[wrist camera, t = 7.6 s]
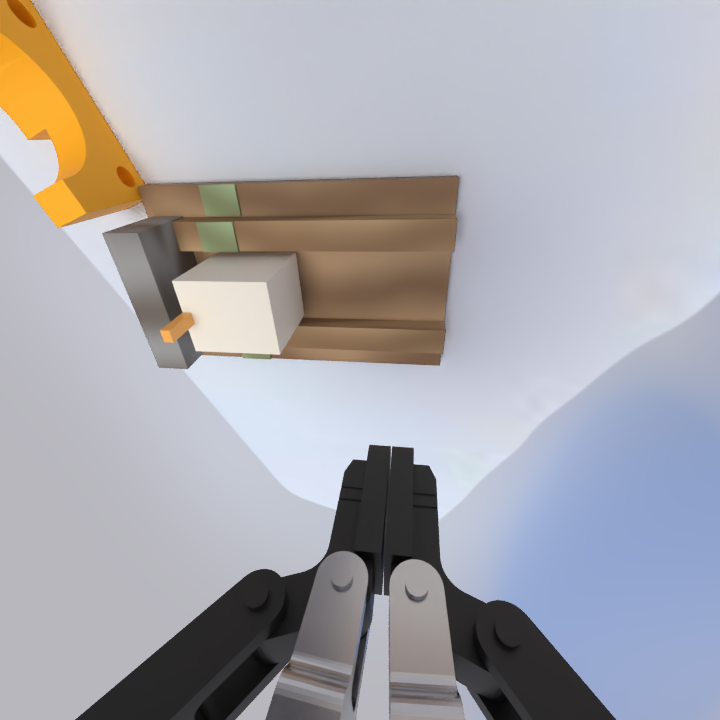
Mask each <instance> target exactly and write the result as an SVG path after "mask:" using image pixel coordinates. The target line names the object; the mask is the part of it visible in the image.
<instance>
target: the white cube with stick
mask: <svg viewBox="0 0 720 720" xmlns="http://www.w3.org/2000/svg"><path fill="white" fill-rule="evenodd" d="M172 283H173V286H174V289H175V292H176V295H177V298H178V301H179V304H180V307H181V309H182V312H183V313H181V314H180V315H179V316H177V317H176V318H175V319H174V320H172V321H171V322H170V323H169V324H167V325H166V326H165V327H163V328H162V329H161V330H160V332H161V335H162V337H163V340H164V342H170V343H174V342H175V341H176V340H177V339H178V338H180V337H181V336H182V335H183V334H184V333H185V332H186V331H188V330H189V333H190V336H191V339H192V341H193V344H194V347H195V350H196V351H204V352H227V353H250V354H274V355H280V354H281V352H282V351H283V349H284V348H285V346H286V344H287V343H288V341H289V339H290V338H291V336H292V334H293V333H294V331H295V329H296V328H297V326H298V324H299V323H300V321H301V320H302V318H303V316H304V309H303V301H302V294H301V287H300V279H299V272H298V265H297V257H296V252H217V253H216V254H214V255H213V256H211V257H209V258H208V259H206V260H205V261H203V262H201V263H200V264H198V265H197V266H195V267H193V268H192V269H190V270H188V271H187V272H185V273H184V274H182V275H180V276H179V277H177V278H176V279H174V280H172Z"/></svg>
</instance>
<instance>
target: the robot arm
mask: <svg viewBox="0 0 720 720" xmlns="http://www.w3.org/2000/svg"><path fill="white" fill-rule="evenodd" d="M413 461H414V448H407V447H394V446H392V457H391V446H379V445H370V446H369V450H368V457H367V461H364V460H353V461H352V462H351V463H350V465H349V466H348V468H347V469H346V470H345V472H344V477H343V482H342V488H341V491H340V496H339V501H338V506H337V511H336V515H335V521H334V525H333V530H332V535H331V540H330V544H329V548H328V550H327V553H326V555H325V556H324V558H323V559H322V560H321V561H320V562H319V563H318V564H317V565H316V566H315V567H313V568H312V569H309V570H307V571H305V572H301V573H297V574H293V575H289V576H285V577H280V576H279V575H278V574H277V573H276V572H274V571H272V570H268V569H260V570H256V571H253V572H251V573H250V574H248V575H247V576H245V577H244V578H243V579H242V580H241V581H239V582H238V583H237V584H236V585H234V586H233V587H232V588H231V589H230V590H229V591H227V592H226V593H225V594H224V595H223V596H221V597H220V598H219V599H218V600H217V601H216V602H214V603H213V604H212V605H211V606H210V607H208V608H207V609H206V610H205V611H204V612H202V613H201V614H200V615H199V616H198V617H196V618H195V619H194V620H193V621H192V622H191V623H189V624H188V625H187V626H186V627H185V628H183V629H182V630H181V631H180V632H179V633H178V634H176V635H175V636H174V637H173V638H172V639H171V640H169V641H168V642H167V643H166V644H164V645H163V646H162V647H161V648H160V649H159V650H157V651H156V652H155V653H154V654H153V655H151V656H150V657H149V658H148V659H147V660H146V661H144V662H143V663H142V664H141V665H140V666H138V667H137V668H136V669H135V670H134V671H132V672H131V673H130V674H129V675H128V676H127V677H125V678H124V679H123V680H122V681H121V682H120V683H118V684H117V685H116V686H115V687H114V688H112V689H111V690H110V691H109V692H108V693H106V694H105V695H104V696H103V697H102V698H100V699H99V700H98V701H97V702H96V703H95V704H93V705H92V706H91V707H90V708H89V709H88V710H86V711H85V712H84V713H83V714H81V715H80V716H79V717H78V718H77V719H76V720H235V719H236V718H237V717H238V716H239V715H240V714H241V713H242V712H243V711H244V710H245V708H246V707H247V706H248V705H249V704H250V703H251V702H252V701H253V700H254V699H255V698H256V696H257V695H259V693H260V692H261V691H262V690H263V689H264V688H265V687H266V686H267V685H268V684H269V683H270V682H271V680H272V679H273V678H274V677H275V676H276V675H277V674H278V673H279V672H280V671H281V670H282V669H283V668H284V666H285V665H286V664H287V663H288V662H289V661H290V662H289V663H288V665H287V666H286V667H285V668H284V670H283V671H282V673H281V675H280V677H279V680H278V682H277V685H276V688H275V691H274V694H273V697H272V701H271V704H270V707H269V710H268V713H267V717H266V720H356V714H357V707H358V700H359V693H360V688H361V681H362V675H363V669H364V662H365V655H366V650H367V644H368V637H369V630H370V625H371V622H372V615H373V604H374V594H379V595H381V594H382V584H383V572H384V595H389V720H465V715H464V709H463V704H462V700H461V698H460V695H459V693H458V689H457V685H456V680H457V681H458V682H460V683H462V684H463V685H465V686H466V687H467V689H468V690H469V692H470V694H471V695H472V697H473V698H474V700H475V701H476V703H477V705H478V706H479V708H480V709H481V711H482V713H483V714H484V715H485V717H486V719H487V720H616V719H615V718H614V717H613V716H612V714H611V713H610V712H609V711H608V710H607V709H606V707H605V706H604V705H603V704H602V703H601V701H600V700H599V699H598V698H597V697H596V696H595V694H594V693H593V692H592V691H591V690H590V689H589V687H588V686H587V685H586V684H585V683H584V682H583V681H582V679H581V678H580V677H579V676H578V675H577V673H576V672H575V671H574V670H573V669H572V668H571V667H570V665H569V664H568V663H567V662H566V660H565V659H564V658H563V657H562V656H561V655H560V653H559V652H558V651H557V650H556V649H555V648H554V647H553V645H552V644H551V643H550V642H549V641H548V639H547V638H546V637H545V636H544V635H543V634H542V632H541V631H540V630H539V629H538V628H537V627H536V625H535V624H534V623H533V622H532V621H531V620H530V618H529V617H528V616H527V615H526V614H525V613H524V612H523V611H522V610H521V609H519V608H518V607H517V606H515V605H513V604H511V603H509V602H505V601H500V600H496V601H491V602H488V603H487V604H486V603H484V602H483V601H480V600H478V599H476V598H474V597H472V596H470V595H468V594H466V593H464V592H463V591H461V590H459V589H458V588H457V587H455V586H454V585H453V584H452V583H451V581H450V580H449V579H448V578H447V576H446V575H445V573H444V571H443V568H442V565H441V561H440V547H439V527H438V510H437V488H436V478H435V476H434V474H433V473H432V471H431V469H430V467H429V466H427V465H415V464H413ZM390 466H391V470H390Z"/></svg>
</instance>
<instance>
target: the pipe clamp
mask: <svg viewBox="0 0 720 720" xmlns="http://www.w3.org/2000/svg"><path fill="white" fill-rule="evenodd" d="M0 107H1V108H2V109H3V110H4V111H5V112H6V113H7V114H8V115H9V116H10V117H11V118H12V120H13V121H14V122H15V123H16V124H17V125H18V127H19V128H20V129H21V131H22V132H23V133H24V135H25V136H26V138H27V139H28V140H45V139H51V140H52V142H53V144H54V147H55V149H56V152H57V157H58V162H59V172H58V177H57V180H56V182H55V183H54V184H53V185H51V186H49V187H48V188H46V189H44V190H43V191H41V192H39V193H38V194H36V195H34V196H33V197H34V198H35V199H36V200H37V202H38V203H39V204H40V205H41V207H42V208H43V209H44V210H45V212H46V213H47V215H48V216H49V217H50V218H51V220H52V221H53V222H54V223H55V225H56V226H57V227H58V228H60V227H64V226H68V225H71V224H75V223H78V222H82V221H86V220H89V219H93V218H96V217H100V216H104V215H107V214H111V213H114V212H118V211H122V210H125V209H128V208H130V207H132V206H134V205H136V204H138V203H140V202H142V198H141V195H140V192H139V189H138V187H137V186H142V185H145V183H144V182H143V180H142V179H141V177H140V175H139V174H138V172H137V171H136V169H135V167H134V166H133V164H132V162H131V161H130V159H129V158H128V156H127V154H126V153H125V151H124V150H123V148H122V146H121V145H120V143H119V142H118V140H117V138H116V137H115V135H114V134H113V132H112V130H111V129H110V127H109V125H108V124H107V122H106V121H105V119H104V117H103V116H102V114H101V113H100V111H99V109H98V108H97V106H96V105H95V103H94V101H93V100H92V98H91V97H90V95H89V93H88V92H87V90H86V89H85V87H84V85H83V84H82V82H81V80H80V79H79V77H78V76H77V74H76V72H75V71H74V69H73V68H72V66H71V64H70V63H69V61H68V60H67V58H66V56H65V55H64V53H63V52H62V50H61V48H60V47H59V45H58V44H57V42H56V40H55V39H54V37H53V35H52V34H51V32H50V31H49V29H48V27H47V26H46V24H45V23H44V21H43V19H42V18H41V16H40V15H39V13H38V11H37V10H36V8H35V7H34V5H33V3H32V2H31V0H0Z"/></svg>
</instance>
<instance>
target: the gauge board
mask: <svg viewBox="0 0 720 720" xmlns="http://www.w3.org/2000/svg"><path fill="white" fill-rule="evenodd" d="M458 184H459V177H458V176H432V177H395V178H358V179H320V180H283V181H245V182H208V183H171V184H146V185H142V186H137V187H138V189H139V192H140V195H141V198H142V201H143V204H144V207H145V210H146V213H147V215H148V218H147V219H144V220H141V221H138V222H135V223H132V224H129V225H126V226H123V227H120V228H117V229H114V230H111V231H108V232H105V233H102V234H103V236H104V239H105V241H106V244H107V246H108V248H109V251H110V253H111V255H112V258H113V260H114V262H115V265H116V267H117V270H118V272H119V274H120V277H121V279H122V281H123V284H124V286H125V288H126V291H127V293H128V296H129V298H130V300H131V303H132V305H133V307H134V310H135V312H136V314H137V317H138V319H139V321H140V324H141V326H142V328H143V331H144V333H145V336H146V338H147V340H148V343H149V345H150V347H151V350H152V352H153V354H154V357H155V359H156V362H157V364H158V366H159V367H160V368H179V369H188V368H189V367H190V366H191V365H192V364H193V363H194V362H195V361H196V360H197V359H198V358H199V357H200V356H201V355H214V356H236V357H243V358H254V359H271V358H282V359H304V360H327V361H349V362H372V363H395V364H417V365H440V358H441V354H443V350H444V340H445V331H446V330H445V323H444V319H445V310H446V300H447V290H448V281H449V271H450V261H451V252H454V247H455V238H456V229H457V217H456V214H455V213H456V203H457V194H458ZM217 252H296V257H297V265H298V272H299V279H300V287H301V294H302V301H303V309H304V316H303V318H302V320H301V321H300V323H299V324H298V326H297V328H296V329H295V331H294V333H293V334H292V336H291V338H290V339H289V341H288V343H287V344H286V346H285V348H284V349H283V351H282V352H281V354H280V355H274V354H250V353H227V352H204V351H196V350H195V347H194V344H193V341H192V339H191V336H190V333H189V330H188V331H186V332H185V333H184V334H183V335H182V336H181V337H180V338H178V339H177V340H176V341H175V342H174V343H170V342H164V340H163V337H162V335H161V332H160V330H161V329H162V328H163V327H165V326H166V325H167V324H169V323H170V322H171V321H172V320H174V319H175V318H176V317H177V316H179V315H180V314H181V313H183V312H182V309H181V307H180V304H179V301H178V298H177V295H176V292H175V289H174V286H173V283H172V280H174V279H176V278H177V277H179V276H180V275H182V274H184V273H185V272H187V271H188V270H190V269H192V268H193V267H195V266H197V265H198V264H200V263H201V262H203V261H205V260H206V259H208V258H209V257H211V256H213V255H214V254H216V253H217Z"/></svg>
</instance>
